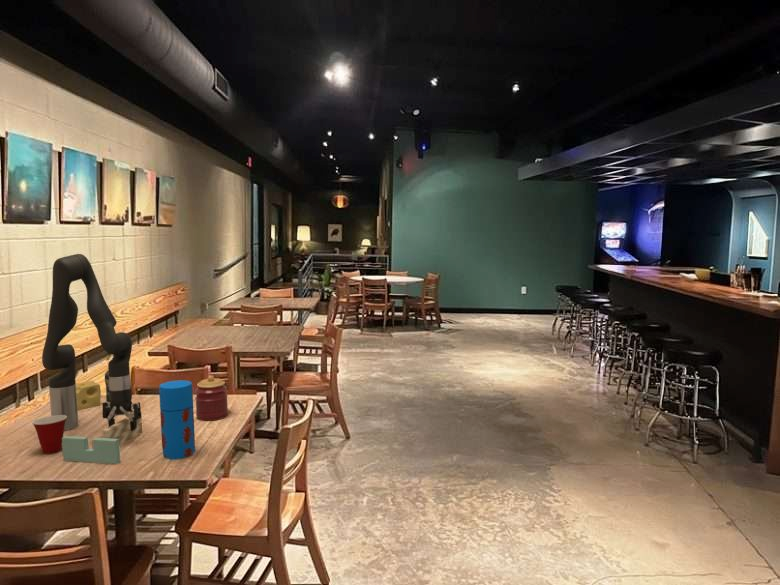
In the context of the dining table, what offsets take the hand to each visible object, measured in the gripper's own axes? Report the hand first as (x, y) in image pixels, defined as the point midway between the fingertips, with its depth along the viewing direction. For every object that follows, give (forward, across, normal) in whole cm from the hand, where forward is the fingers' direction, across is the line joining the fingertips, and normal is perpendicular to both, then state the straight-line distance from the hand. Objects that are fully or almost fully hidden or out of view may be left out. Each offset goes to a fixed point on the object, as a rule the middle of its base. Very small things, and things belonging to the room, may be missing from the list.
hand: (122, 429), depth 211 cm
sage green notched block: (+5, 0, -17) cm, 18 cm away
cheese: (+4, -45, +38) cm, 59 cm away
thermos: (+5, +26, -6) cm, 27 cm away
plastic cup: (+5, -20, -11) cm, 24 cm away
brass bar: (+5, 0, +1) cm, 5 cm away
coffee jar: (+4, -25, +32) cm, 40 cm away
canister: (+5, +18, +33) cm, 38 cm away
